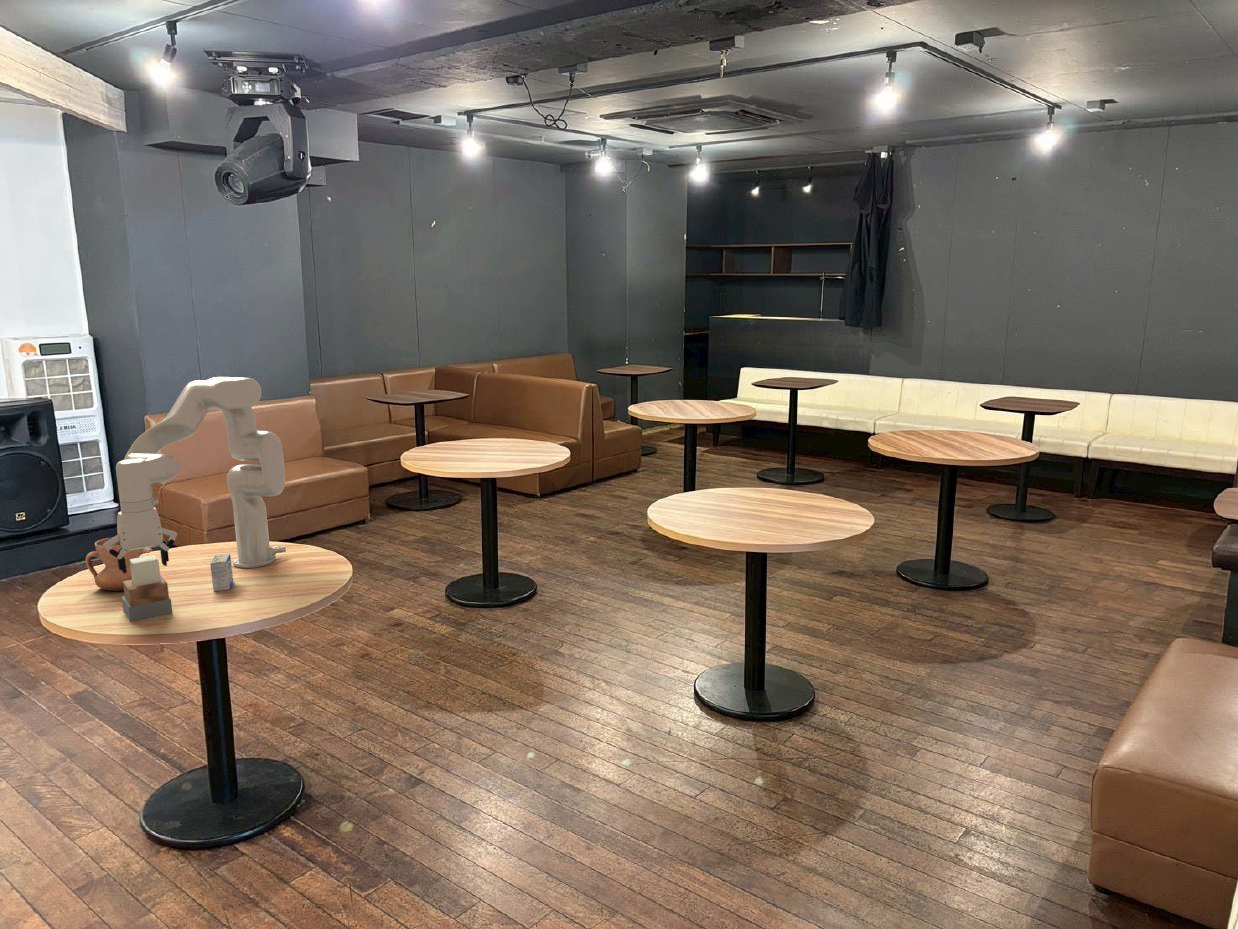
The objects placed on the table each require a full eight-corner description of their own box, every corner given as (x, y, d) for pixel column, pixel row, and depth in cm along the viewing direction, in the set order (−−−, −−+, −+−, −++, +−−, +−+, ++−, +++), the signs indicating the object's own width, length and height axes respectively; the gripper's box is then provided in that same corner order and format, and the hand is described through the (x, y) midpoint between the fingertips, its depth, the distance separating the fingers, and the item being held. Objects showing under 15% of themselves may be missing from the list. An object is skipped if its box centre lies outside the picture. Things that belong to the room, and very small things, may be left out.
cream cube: (156, 576, 236) (154, 555, 235) (161, 582, 231) (158, 560, 230) (132, 580, 232) (129, 559, 231) (135, 586, 228) (133, 564, 226)
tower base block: (164, 604, 240) (162, 588, 239) (172, 614, 232) (170, 598, 231) (123, 612, 234) (121, 596, 233) (130, 623, 226) (128, 607, 225)
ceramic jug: (165, 577, 262) (159, 531, 259) (144, 593, 248) (138, 545, 245) (102, 580, 260) (96, 535, 257) (78, 597, 246) (71, 548, 243)
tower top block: (161, 590, 238) (159, 574, 237) (169, 598, 231) (167, 582, 230) (124, 597, 233) (122, 581, 232) (131, 606, 226) (129, 590, 225)
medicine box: (229, 590, 250) (226, 561, 248) (213, 591, 249) (210, 563, 247) (233, 581, 258) (230, 553, 256) (217, 583, 256) (214, 555, 255)
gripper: (170, 498, 236) (176, 558, 239) (96, 508, 225) (105, 571, 229) (176, 503, 230) (183, 565, 233) (101, 514, 219) (110, 578, 223)
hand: (144, 568), depth 231 cm, fingers open, 9 cm apart
